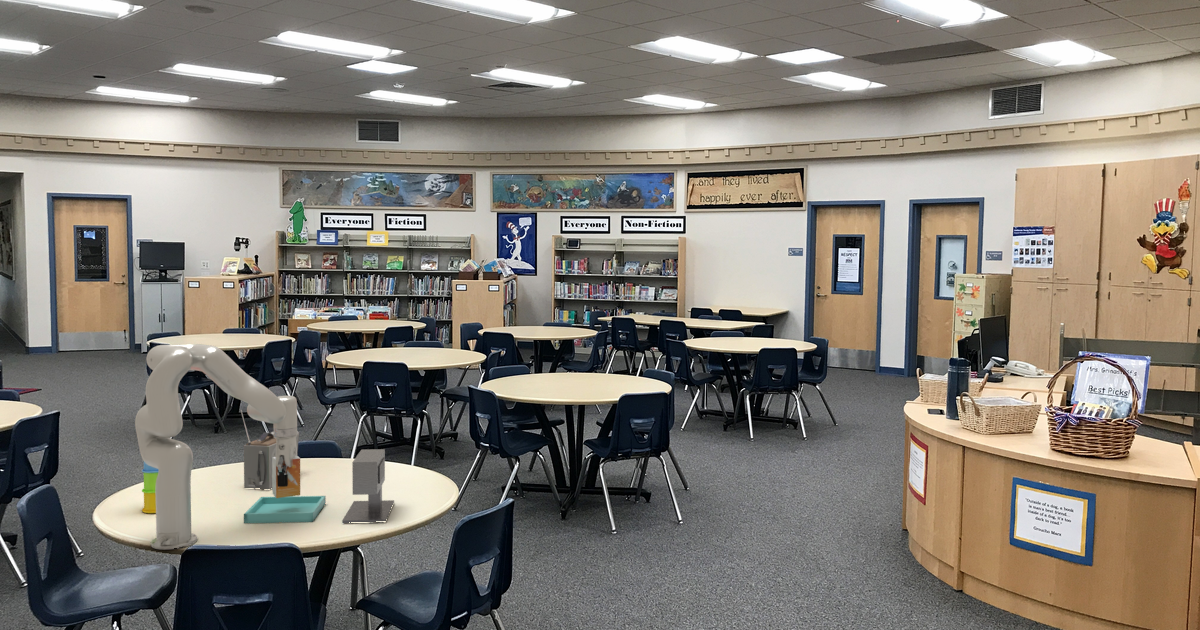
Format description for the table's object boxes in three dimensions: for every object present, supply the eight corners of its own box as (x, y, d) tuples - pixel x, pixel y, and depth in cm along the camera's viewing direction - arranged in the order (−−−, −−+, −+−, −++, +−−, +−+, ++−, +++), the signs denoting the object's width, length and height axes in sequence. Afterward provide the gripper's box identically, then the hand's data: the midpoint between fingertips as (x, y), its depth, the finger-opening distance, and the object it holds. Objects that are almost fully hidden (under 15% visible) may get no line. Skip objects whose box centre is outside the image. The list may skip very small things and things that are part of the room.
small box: (276, 498, 278) (275, 460, 278) (272, 494, 284) (271, 456, 283) (301, 495, 283) (300, 457, 282) (296, 490, 288) (296, 453, 287)
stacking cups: (136, 514, 280) (134, 413, 277) (150, 505, 290) (148, 407, 288) (168, 514, 281) (166, 413, 278) (180, 505, 291) (178, 407, 288)
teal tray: (312, 521, 275) (312, 512, 275) (243, 523, 272) (243, 514, 272) (325, 504, 295) (325, 495, 295) (261, 505, 292) (261, 496, 292)
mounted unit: (385, 523, 275) (385, 463, 274) (342, 524, 273) (341, 463, 272) (394, 503, 297) (394, 447, 295) (354, 504, 295) (353, 448, 294)
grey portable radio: (300, 475, 333) (299, 401, 331) (268, 491, 310) (267, 411, 308) (272, 473, 335) (271, 399, 333) (238, 489, 311) (237, 410, 309)
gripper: (290, 437, 274) (291, 489, 275) (302, 427, 291) (303, 475, 292) (266, 438, 273) (267, 490, 274) (280, 427, 290) (281, 476, 291)
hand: (286, 482), depth 283 cm, fingers closed on small box, 8 cm apart
